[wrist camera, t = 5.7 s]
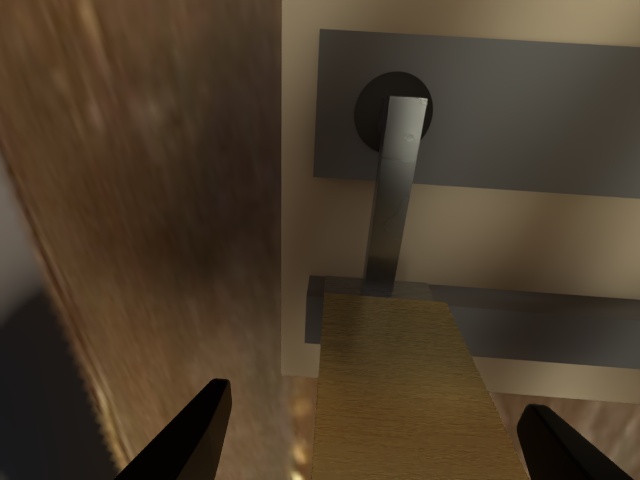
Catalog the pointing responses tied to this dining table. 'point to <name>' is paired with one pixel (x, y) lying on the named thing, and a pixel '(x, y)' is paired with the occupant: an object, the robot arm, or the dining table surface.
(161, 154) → the dining table surface
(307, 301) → the board with grey bars
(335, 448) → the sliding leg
